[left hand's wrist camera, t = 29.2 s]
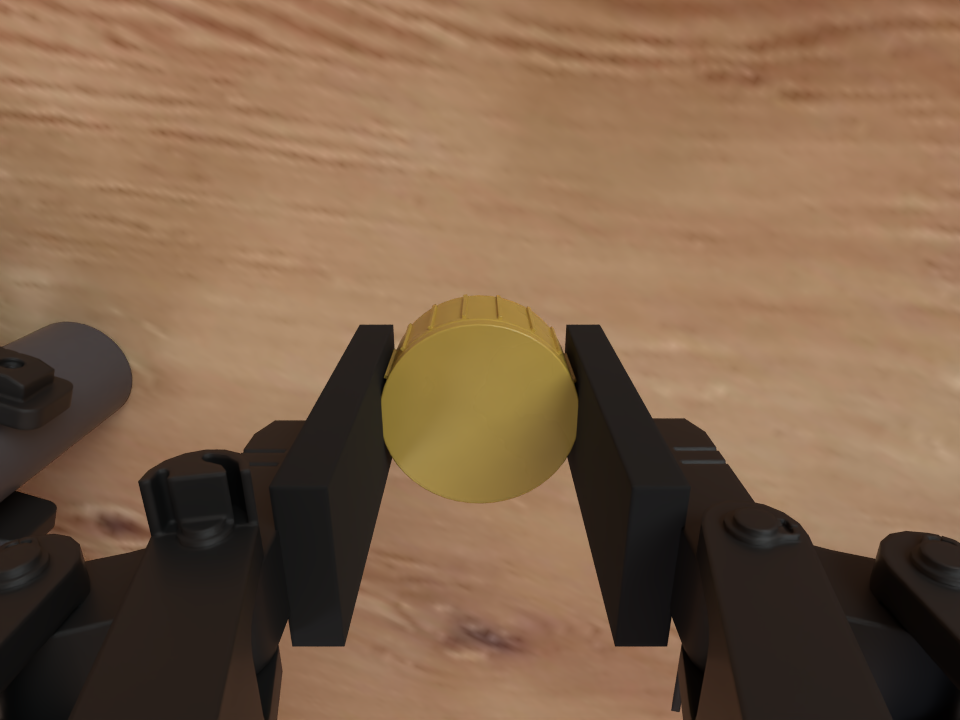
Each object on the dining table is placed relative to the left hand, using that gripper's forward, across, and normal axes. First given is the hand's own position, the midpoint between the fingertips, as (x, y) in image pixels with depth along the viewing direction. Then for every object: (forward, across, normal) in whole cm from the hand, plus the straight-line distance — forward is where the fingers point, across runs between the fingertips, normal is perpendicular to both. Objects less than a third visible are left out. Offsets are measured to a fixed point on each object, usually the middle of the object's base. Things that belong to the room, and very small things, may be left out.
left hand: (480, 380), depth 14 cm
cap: (-2, 0, 0) cm, 2 cm away
